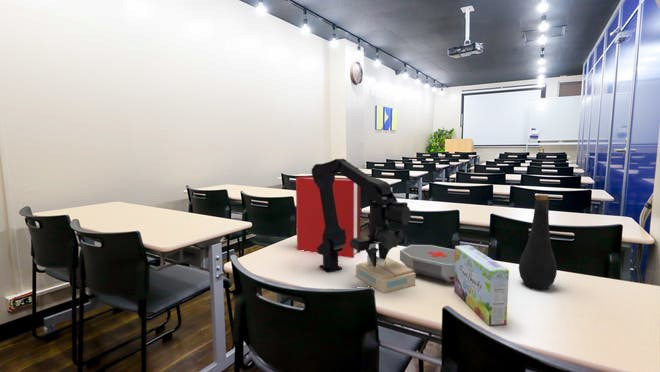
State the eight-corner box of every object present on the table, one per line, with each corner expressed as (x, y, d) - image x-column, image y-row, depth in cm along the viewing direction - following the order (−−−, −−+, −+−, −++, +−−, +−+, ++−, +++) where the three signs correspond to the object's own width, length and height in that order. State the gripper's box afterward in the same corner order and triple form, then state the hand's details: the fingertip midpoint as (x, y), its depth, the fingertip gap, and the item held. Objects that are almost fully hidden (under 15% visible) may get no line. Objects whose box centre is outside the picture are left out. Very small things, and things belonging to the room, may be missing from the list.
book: (360, 252, 149) (360, 178, 145) (353, 257, 142) (353, 180, 138) (304, 245, 160) (303, 176, 156) (295, 250, 153) (294, 177, 149)
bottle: (523, 276, 121) (529, 191, 117) (559, 285, 113) (566, 195, 110) (513, 285, 113) (518, 195, 110) (550, 295, 106) (557, 198, 102)
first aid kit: (393, 273, 125) (463, 291, 109) (394, 253, 124) (464, 268, 108) (415, 260, 139) (480, 275, 123) (416, 242, 138) (481, 255, 122)
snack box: (452, 291, 110) (453, 245, 108) (469, 290, 110) (471, 244, 108) (487, 326, 89) (490, 269, 87) (508, 325, 89) (511, 269, 87)
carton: (355, 276, 122) (355, 263, 122) (386, 269, 128) (386, 257, 128) (382, 293, 108) (383, 278, 108) (415, 285, 114) (415, 271, 114)
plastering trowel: (362, 264, 122) (362, 251, 121) (387, 259, 127) (387, 246, 126) (386, 278, 110) (386, 263, 109) (413, 272, 115) (413, 257, 114)
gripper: (368, 228, 102) (368, 279, 104) (417, 221, 110) (416, 268, 112) (349, 221, 112) (349, 267, 114) (395, 215, 120) (394, 258, 122)
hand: (378, 266), depth 115 cm, fingers open, 3 cm apart
